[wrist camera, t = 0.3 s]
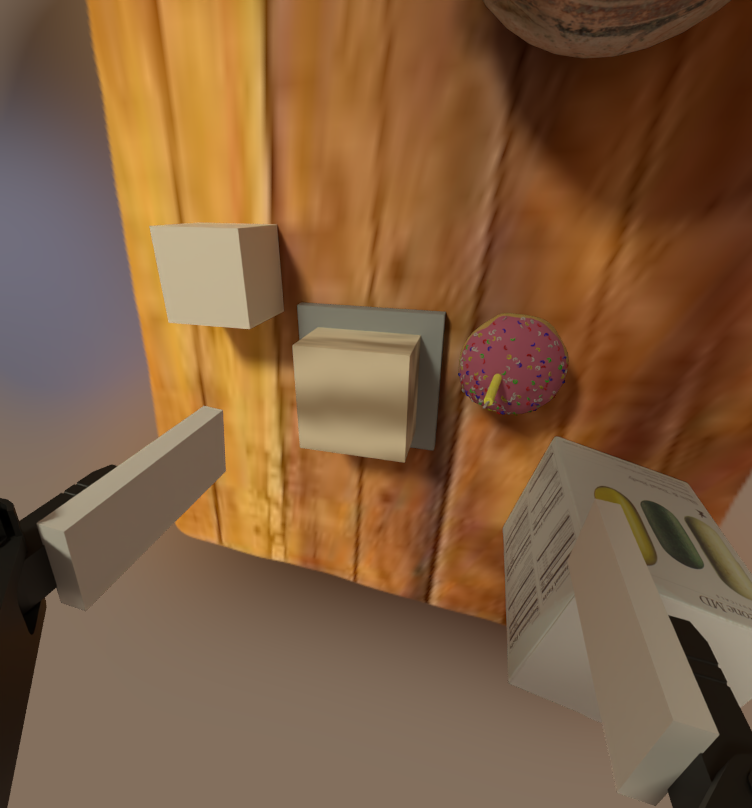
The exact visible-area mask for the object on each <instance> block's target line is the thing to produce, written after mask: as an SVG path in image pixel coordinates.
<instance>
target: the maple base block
mask: <svg viewBox="0 0 752 808" xmlns="http://www.w3.org/2000/svg"><path fill="white" fill-rule="evenodd" d="M420 342H421V335H412V334H399V333H386V332H374V331H361V330H348V329H335V328H322V327H317V328H316V329H315V330H313V331H312V332H310V333H309V334H308V335H306V336H305V337H303V338H302V339H301V340H299V341H298V342H296V343H295V344H293V345H292V349H293V362H294V375H295V388H296V401H297V414H298V427H299V440H300V448H306V449H313V450H320V451H327V452H334V453H341V454H348V455H355V456H362V457H369V458H376V459H383V460H390V461H397V462H404V463H405V460H406V458H407V455H408V452H409V449H410V446H411V443H412V440H413V437H414V434H415V429H416V412H417V394H418V377H419V359H420Z"/></svg>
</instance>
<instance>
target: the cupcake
mask: <svg viewBox="0 0 752 808" xmlns="http://www.w3.org/2000/svg"><path fill="white" fill-rule="evenodd" d="M568 362H569V360H568V353H567V350H566V348H565V346H564V344H563V342H562V340H561V338H560V337H559V335H558V333H557V331H556V330H555V328H554V327H553V326H552V325H551V324H550V323H548V322H547V321H545V320H544V319H541V318H538V317H534V316H529V315H522V314H512V313H502V314H499V315H497V316H496V317H494V318H492V319H491V320H489V321H487V322H486V323H484V324H483V325H481V326H480V327H479V328H477V329H476V330H475V331H474V332H473V333H472V334H471V335H470V336H469V338H468V339H467V340H466V342H465V344H464V346H463V348H462V351H461V354H460V360H459V373H458V375H459V376H460V381H461V385H462V388H463V389H462V391H463V390H464V391H463V392H465V393H466V395H467V396H469V398H470V399H471V401H473V402H475V403H477V404H479V405H481V406H483V408H488V410H489V409H490V411H491V410H493V411H496V412H497V413H498V414H508V415H509V414H514V415H516V416H517V414H523V413H526V412H531V411H532V410H533V411H536V410H537V408H539V407H541V406H543V405H544V404H546V403H548V402H549V401H550V400H551V399H552V398H553V397H555V395H556V393H557V392H558V390H559V389H560V387H561V386H562V384H563V383H565V380H564V379H565V376H566V374H567V370H568ZM534 409H535V410H534Z"/></svg>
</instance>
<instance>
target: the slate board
mask: <svg viewBox="0 0 752 808" xmlns="http://www.w3.org/2000/svg"><path fill="white" fill-rule="evenodd" d="M297 311H298V325H299V340H301V339H302V338H303V337H305V336H306V335H308V334H309V333H310V332H312V331H313V330H315V329H316V328H317V327H322V328H335V329H348V330H361V331H374V332H386V333H399V334H412V335H421V342H420V359H419V377H418V394H417V412H416V429H415V434H414V437H413V440H412V443H411V446H410V447H411V448H419V449H426V450H434V447H435V440H436V428H437V415H438V403H439V390H440V378H441V366H442V353H443V341H444V329H445V316H446V312H440V311H425V310H409V309H394V308H378V307H363V306H348V305H332V304H317V303H300V304H298V305H297Z"/></svg>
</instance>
